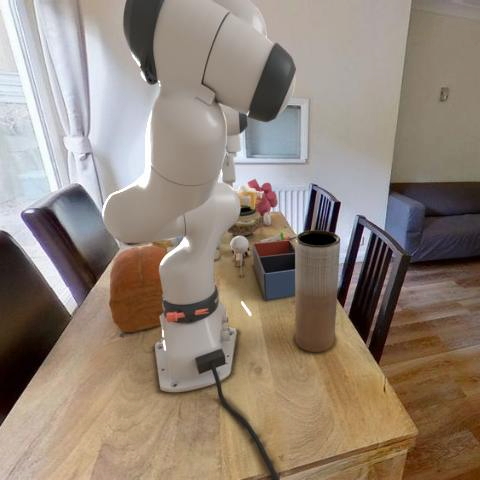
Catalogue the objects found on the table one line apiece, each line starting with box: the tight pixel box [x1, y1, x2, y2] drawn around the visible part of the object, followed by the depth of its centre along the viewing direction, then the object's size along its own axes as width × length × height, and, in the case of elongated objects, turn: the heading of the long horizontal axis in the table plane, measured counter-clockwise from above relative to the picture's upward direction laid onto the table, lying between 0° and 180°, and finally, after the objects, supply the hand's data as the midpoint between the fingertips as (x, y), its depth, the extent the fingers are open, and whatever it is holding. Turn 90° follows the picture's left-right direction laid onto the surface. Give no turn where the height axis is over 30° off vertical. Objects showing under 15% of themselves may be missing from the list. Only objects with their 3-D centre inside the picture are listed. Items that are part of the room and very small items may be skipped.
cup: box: [257, 232, 285, 243], centre depth 126 cm, size 8×8×15 cm
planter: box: [294, 229, 341, 353], centre depth 73 cm, size 10×10×28 cm
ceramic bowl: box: [226, 207, 263, 239], centre depth 140 cm, size 24×18×15 cm
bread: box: [108, 245, 168, 333], centre depth 88 cm, size 16×27×16 cm, turn 29°
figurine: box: [151, 237, 183, 252], centre depth 132 cm, size 13×25×6 cm, turn 154°
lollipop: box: [230, 236, 250, 277], centre depth 104 cm, size 6×6×15 cm
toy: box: [247, 178, 279, 227], centre depth 159 cm, size 28×30×15 cm
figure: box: [235, 183, 264, 209], centre depth 136 cm, size 17×18×9 cm
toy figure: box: [231, 246, 252, 267], centre depth 120 cm, size 7×6×15 cm
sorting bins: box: [251, 239, 295, 301], centre depth 105 cm, size 24×14×9 cm, turn 19°
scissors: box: [284, 233, 299, 240], centre depth 139 cm, size 8×21×2 cm, turn 154°
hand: (228, 191), depth 95 cm, fingers open, 8 cm apart
